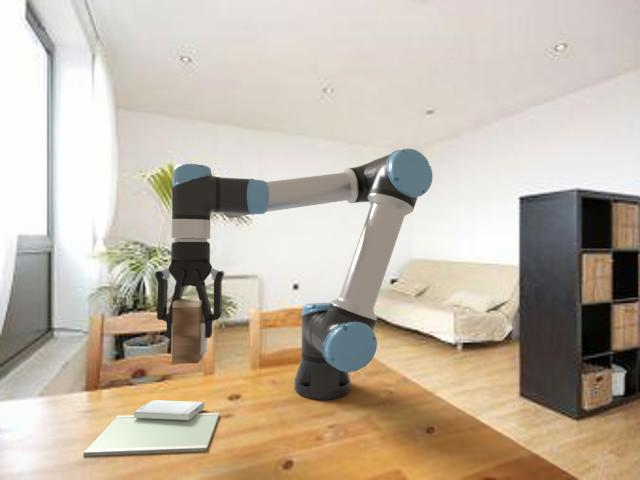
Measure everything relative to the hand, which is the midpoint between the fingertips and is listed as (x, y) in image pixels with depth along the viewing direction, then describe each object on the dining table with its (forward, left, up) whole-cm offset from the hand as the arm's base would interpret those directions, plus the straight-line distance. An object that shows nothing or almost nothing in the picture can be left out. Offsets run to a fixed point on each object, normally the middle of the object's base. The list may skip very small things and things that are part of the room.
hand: (189, 353), depth 77 cm
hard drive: (+6, -8, -16) cm, 19 cm away
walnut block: (0, 0, -1) cm, 1 cm away
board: (+6, 0, -16) cm, 18 cm away
